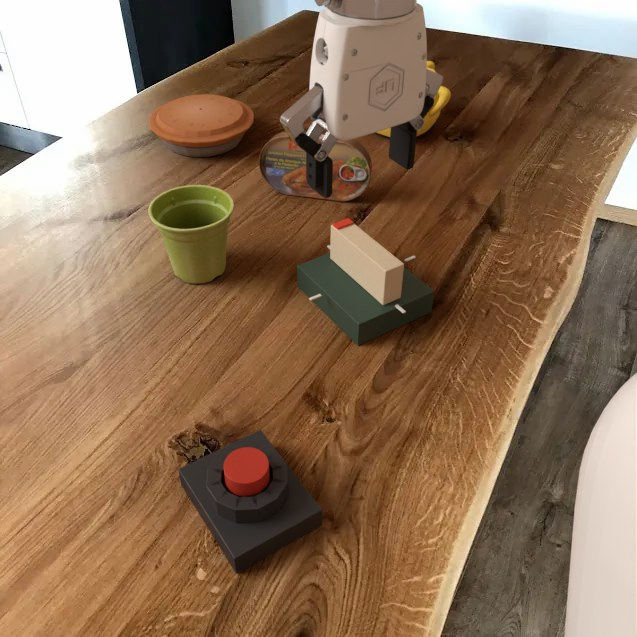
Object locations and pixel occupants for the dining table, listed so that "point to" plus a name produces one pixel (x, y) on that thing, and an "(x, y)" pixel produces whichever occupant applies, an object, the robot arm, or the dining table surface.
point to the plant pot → (194, 230)
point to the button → (246, 471)
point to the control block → (250, 505)
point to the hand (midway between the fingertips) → (361, 176)
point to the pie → (201, 124)
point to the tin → (290, 168)
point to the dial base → (361, 299)
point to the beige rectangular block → (366, 261)
